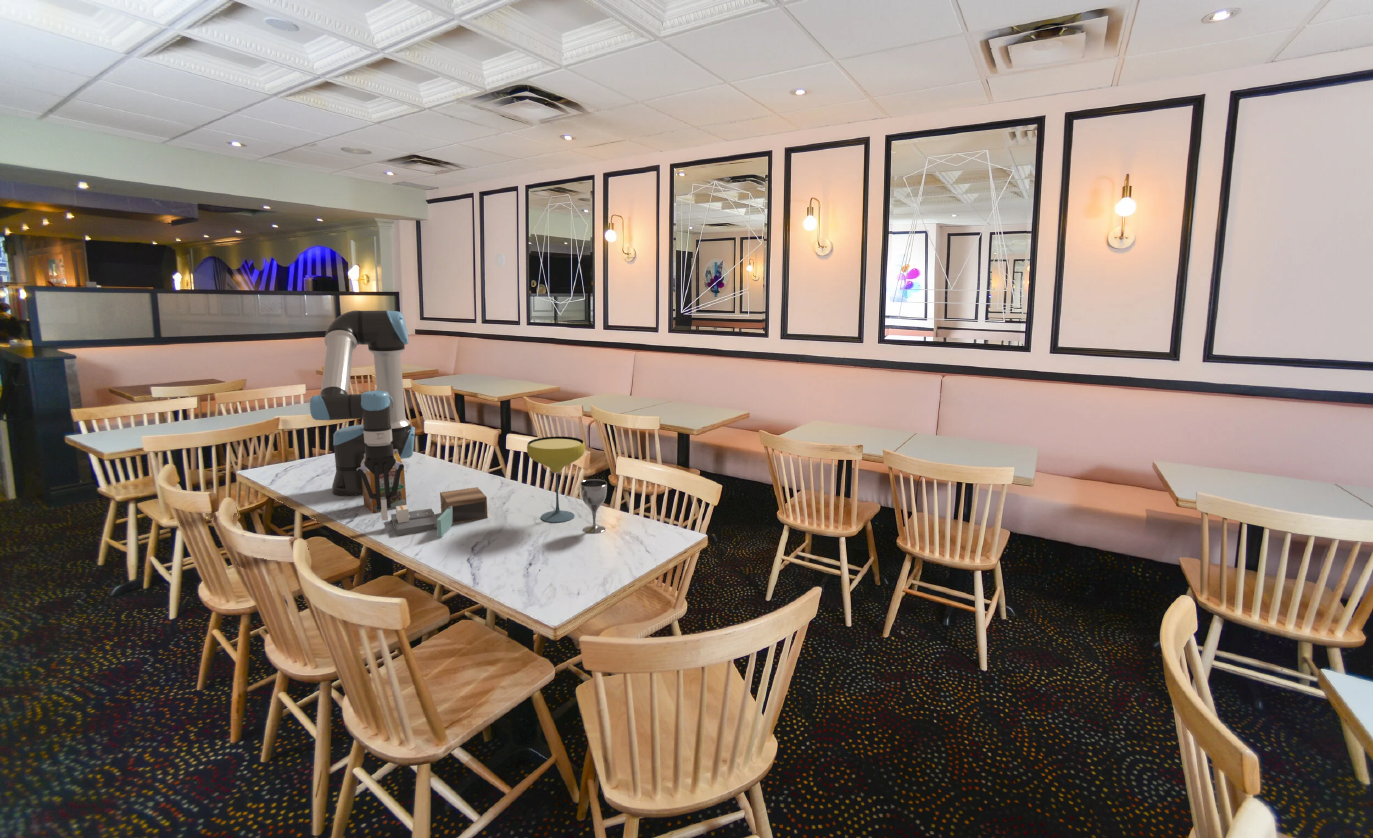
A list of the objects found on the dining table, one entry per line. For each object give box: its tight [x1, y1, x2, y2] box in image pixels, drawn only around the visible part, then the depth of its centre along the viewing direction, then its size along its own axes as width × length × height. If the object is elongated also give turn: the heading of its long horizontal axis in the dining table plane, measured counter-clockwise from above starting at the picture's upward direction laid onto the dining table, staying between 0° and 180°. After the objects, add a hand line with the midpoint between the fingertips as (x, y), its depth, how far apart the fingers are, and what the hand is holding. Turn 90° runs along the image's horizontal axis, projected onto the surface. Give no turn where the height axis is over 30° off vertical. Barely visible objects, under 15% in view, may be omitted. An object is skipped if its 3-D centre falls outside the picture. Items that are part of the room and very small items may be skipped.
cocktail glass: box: [526, 436, 586, 524], centre depth 202 cm, size 18×18×25 cm
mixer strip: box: [390, 508, 439, 537], centre depth 196 cm, size 15×12×2 cm
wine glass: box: [580, 478, 608, 535], centre depth 193 cm, size 8×8×15 cm
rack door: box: [434, 506, 454, 538], centre depth 190 cm, size 2×12×6 cm, turn 4°
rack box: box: [439, 486, 489, 524], centre depth 204 cm, size 12×12×7 cm
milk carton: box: [361, 449, 407, 514], centre depth 210 cm, size 11×11×19 cm
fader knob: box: [395, 505, 410, 523], centre depth 193 cm, size 4×3×4 cm
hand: (384, 518), depth 191 cm, fingers closed
